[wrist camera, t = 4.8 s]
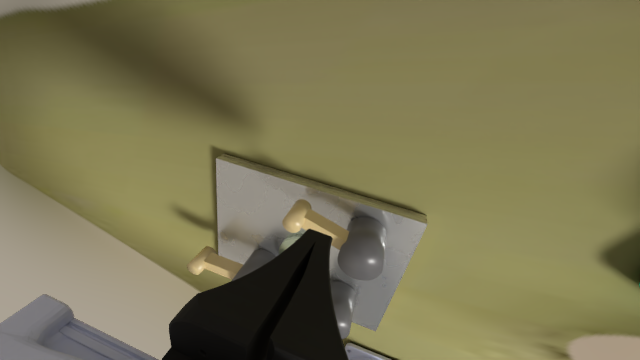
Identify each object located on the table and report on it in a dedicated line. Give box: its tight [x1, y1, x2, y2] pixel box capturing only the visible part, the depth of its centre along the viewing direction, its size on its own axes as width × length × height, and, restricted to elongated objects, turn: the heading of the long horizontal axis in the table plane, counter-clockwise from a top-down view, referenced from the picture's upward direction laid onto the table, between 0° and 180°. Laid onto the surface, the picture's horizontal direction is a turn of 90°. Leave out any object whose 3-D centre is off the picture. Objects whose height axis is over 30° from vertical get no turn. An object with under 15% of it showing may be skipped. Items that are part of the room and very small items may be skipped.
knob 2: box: [282, 199, 387, 281], centre depth 20 cm, size 8×3×4 cm, turn 65°
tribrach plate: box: [216, 154, 427, 331], centre depth 25 cm, size 14×18×2 cm
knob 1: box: [187, 246, 275, 281], centre depth 25 cm, size 8×3×4 cm, turn 80°
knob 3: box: [330, 281, 356, 339], centre depth 25 cm, size 8×3×4 cm, turn 170°
